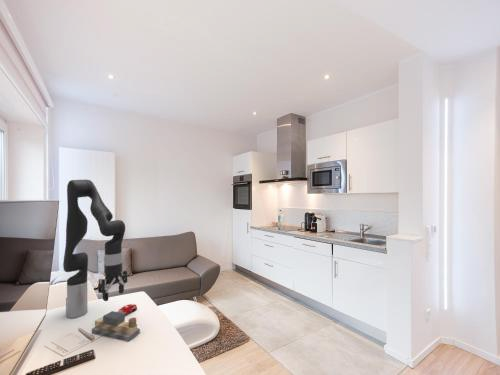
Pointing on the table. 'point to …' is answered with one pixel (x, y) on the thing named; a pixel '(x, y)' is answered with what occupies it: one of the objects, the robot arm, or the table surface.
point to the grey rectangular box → (114, 318)
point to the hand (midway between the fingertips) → (113, 296)
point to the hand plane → (117, 329)
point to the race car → (128, 309)
